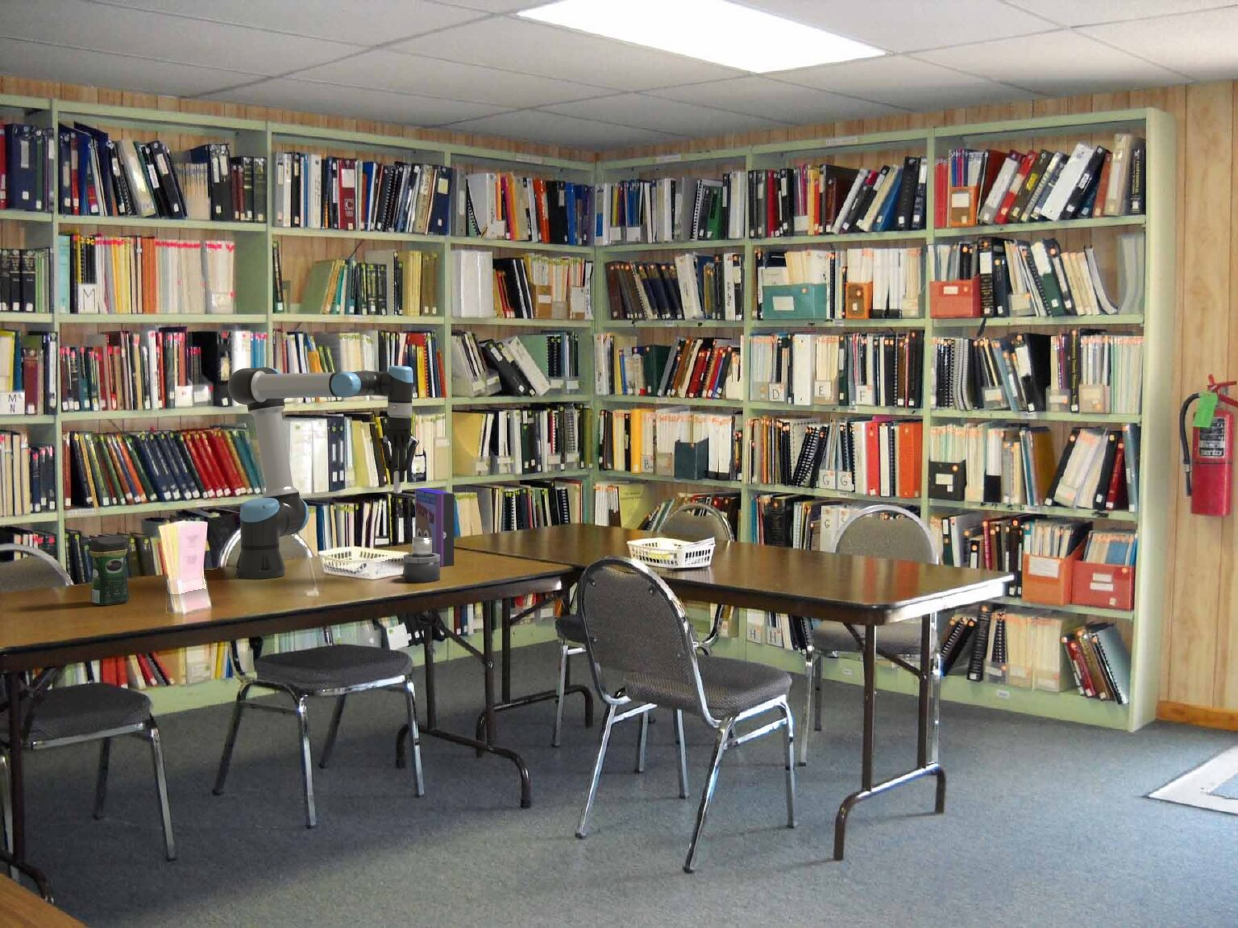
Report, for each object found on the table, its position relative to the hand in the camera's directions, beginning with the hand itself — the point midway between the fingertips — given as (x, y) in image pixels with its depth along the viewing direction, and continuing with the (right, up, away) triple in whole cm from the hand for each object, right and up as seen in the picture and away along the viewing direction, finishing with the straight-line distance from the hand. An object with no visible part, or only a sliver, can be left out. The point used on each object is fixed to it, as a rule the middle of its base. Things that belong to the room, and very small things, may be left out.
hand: (397, 492), depth 413 cm
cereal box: (+7, -24, +30) cm, 39 cm away
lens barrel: (+8, -27, -2) cm, 28 cm away
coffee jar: (-72, -30, -43) cm, 90 cm away
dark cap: (+4, -26, +6) cm, 27 cm away
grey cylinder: (+8, -21, -2) cm, 23 cm away
